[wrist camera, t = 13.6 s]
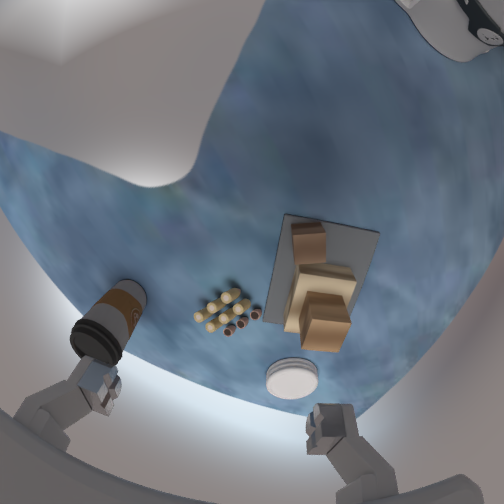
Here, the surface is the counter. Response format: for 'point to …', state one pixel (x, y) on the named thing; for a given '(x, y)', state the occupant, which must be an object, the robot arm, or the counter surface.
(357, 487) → the robot arm
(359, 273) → the mat
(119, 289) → the coffee cup
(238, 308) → the ammunition
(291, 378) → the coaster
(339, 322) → the oak block
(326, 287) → the base block
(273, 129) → the counter surface
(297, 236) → the block
